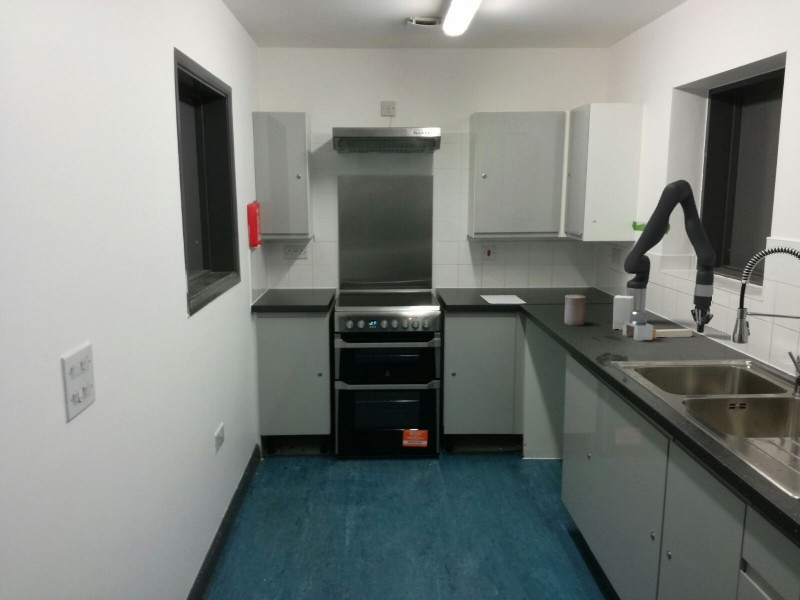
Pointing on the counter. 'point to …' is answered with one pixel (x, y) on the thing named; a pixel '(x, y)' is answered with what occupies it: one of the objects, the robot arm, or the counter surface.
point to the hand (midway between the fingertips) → (700, 332)
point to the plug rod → (672, 333)
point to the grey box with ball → (638, 326)
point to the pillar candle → (575, 309)
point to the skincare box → (622, 310)
